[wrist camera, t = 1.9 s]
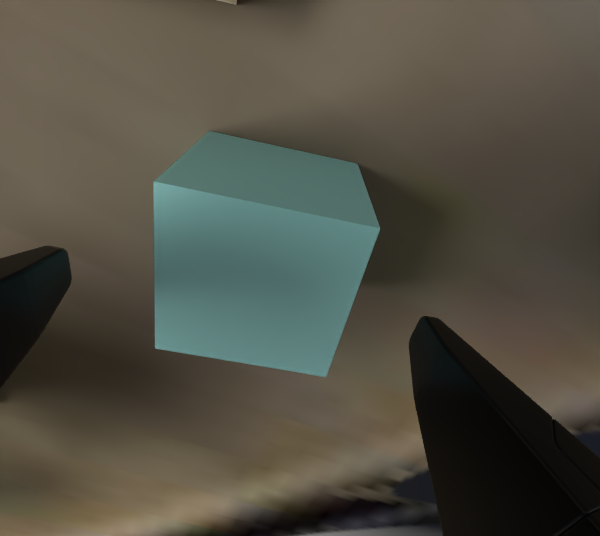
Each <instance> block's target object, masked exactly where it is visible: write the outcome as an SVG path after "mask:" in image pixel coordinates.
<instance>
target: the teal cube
mask: <svg viewBox="0 0 600 536" xmlns="http://www.w3.org/2000/svg"><path fill="white" fill-rule="evenodd" d="M379 231H380V226H379V223H378V220H377V217H376V215H375V212H374V209H373V206H372V203H371V200H370V198H369V195H368V192H367V189H366V186H365V183H364V181H363V178H362V175H361V172H360V169H359V166H358V164H357V163H352V162H348V161H343V160H339V159H334V158H330V157H325V156H321V155H316V154H312V153H307V152H303V151H298V150H293V149H289V148H284V147H280V146H275V145H271V144H266V143H262V142H257V141H253V140H248V139H244V138H239V137H235V136H230V135H226V134H221V133H217V132H212V131H209V132H208V133H207V134H205V135H204V136H203V137H202V138H201V139H200V140H199V141H198V142H197V143H196V144H194V145H193V146H192V147H191V148H190V149H189V150H188V151H187V152H186V153H185V154H183V155H182V156H181V157H180V158H179V159H178V160H177V161H176V162H175V163H174V164H172V165H171V166H170V167H169V168H168V169H167V170H166V171H165V172H164V173H163V174H161V175H160V176H159V177H158V178H157V179H156V180H155V181H154V283H155V348H156V349H162V350H168V351H174V352H179V353H185V354H191V355H197V356H203V357H209V358H215V359H221V360H227V361H233V362H239V363H245V364H251V365H257V366H263V367H269V368H275V369H281V370H287V371H293V372H299V373H305V374H311V375H317V376H322V377H326V376H327V373H328V370H329V367H330V365H331V362H332V359H333V356H334V354H335V351H336V348H337V346H338V343H339V340H340V337H341V335H342V332H343V329H344V326H345V324H346V321H347V318H348V316H349V313H350V310H351V307H352V305H353V302H354V299H355V296H356V294H357V291H358V288H359V285H360V283H361V280H362V277H363V275H364V272H365V269H366V266H367V264H368V261H369V258H370V255H371V253H372V250H373V247H374V244H375V242H376V239H377V236H378V234H379Z"/></svg>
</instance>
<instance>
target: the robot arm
mask: <svg viewBox="0 0 600 536" xmlns="http://www.w3.org/2000/svg"><path fill="white" fill-rule="evenodd" d="M71 279H72V277H71V270H70V263H69V257H68V253H67V251H66V250H65V249H63V248H58V247H53V246H43V247H39V248H36V249H32V250H29V251H25V252H22V253H18V254H14V255H11V256H7V257H4V258H0V388H1V387H2V386H3V384H4V383H5V382H6V380H7V379H8V378H9V376H10V375H11V374H12V372H13V371H14V370H15V368H16V367H17V366H18V364H19V363H20V362H21V361H22V359H23V358H24V357H25V355H26V354H27V353H28V351H29V350H30V349H31V347H32V346H33V345H34V343H35V342H36V341H37V339H38V338H39V336H40V335H41V333H42V332H43V330H44V329H45V327H46V325H47V324H48V322H49V320H50V318H51V317H52V315H53V313H54V312H55V310H56V308H57V307H58V305H59V303H60V302H61V300H62V298H63V297H64V295H65V293H66V292H67V290H68V288H69V286H70V284H71ZM409 353H410V363H411V374H412V384H413V394H414V400H415V406H416V411H417V415H418V420H419V425H420V429H421V434H422V439H423V444H424V448H425V453H426V458H427V462H428V467H429V472H430V476H431V481H432V486H433V490H434V495H435V500H436V504H437V509H438V514H439V519H440V523H441V528H442V532H443V536H600V458H599V456H597V455H596V454H595V453H594V452H592V451H591V450H590V449H589V448H588V447H587V446H585V445H584V444H583V443H582V442H581V441H579V440H578V439H577V438H575V436H574V435H572V434H571V433H570V432H569V431H568V430H567V429H565V428H564V427H563V426H562V425H561V424H560V423H559V422H557V421H556V420H554V419H553V420H552V417H551V416H550V415H549V414H548V413H547V412H546V411H545V410H543V409H542V408H541V407H540V406H539V405H538V404H537V403H535V402H534V401H533V400H532V399H531V398H530V397H529V396H527V395H526V394H525V393H524V392H523V391H522V390H520V389H519V388H518V387H517V386H516V385H515V384H514V383H512V382H511V381H510V380H509V379H508V378H507V377H505V376H504V375H503V374H502V373H501V372H500V371H499V370H497V369H496V368H495V367H494V366H493V365H492V364H491V363H489V362H488V361H487V360H486V359H485V358H484V357H482V356H481V355H480V354H479V353H478V352H477V351H476V350H474V349H473V348H472V347H471V346H470V345H469V344H468V343H466V342H465V341H464V340H463V339H462V338H461V337H459V336H458V335H457V334H456V333H455V332H454V331H453V330H451V329H450V328H449V327H448V326H447V325H446V324H445V323H443V322H442V321H441V320H440V319H438V318H435V317H429V316H423V317H421V318H420V320H419V322H418V324H417V326H416V328H415V330H414V332H413V334H412V336H411V338H410V341H409Z"/></svg>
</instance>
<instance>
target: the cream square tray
mask: <svg viewBox="0 0 600 536" xmlns="http://www.w3.org/2000/svg"><path fill="white" fill-rule="evenodd" d="M218 1H222V2H226V3H230V4H234V5H236V4H237V0H218Z"/></svg>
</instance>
